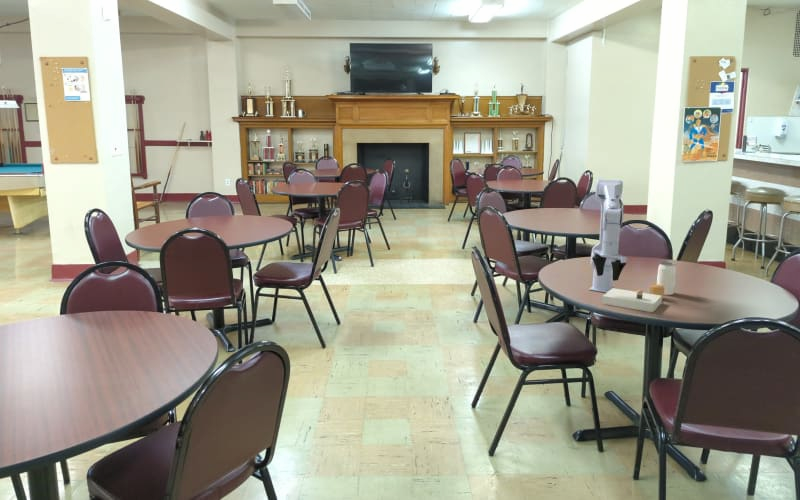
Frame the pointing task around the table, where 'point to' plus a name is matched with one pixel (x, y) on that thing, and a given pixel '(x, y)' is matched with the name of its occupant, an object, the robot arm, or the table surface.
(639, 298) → the junction box
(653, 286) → the cap
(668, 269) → the can
